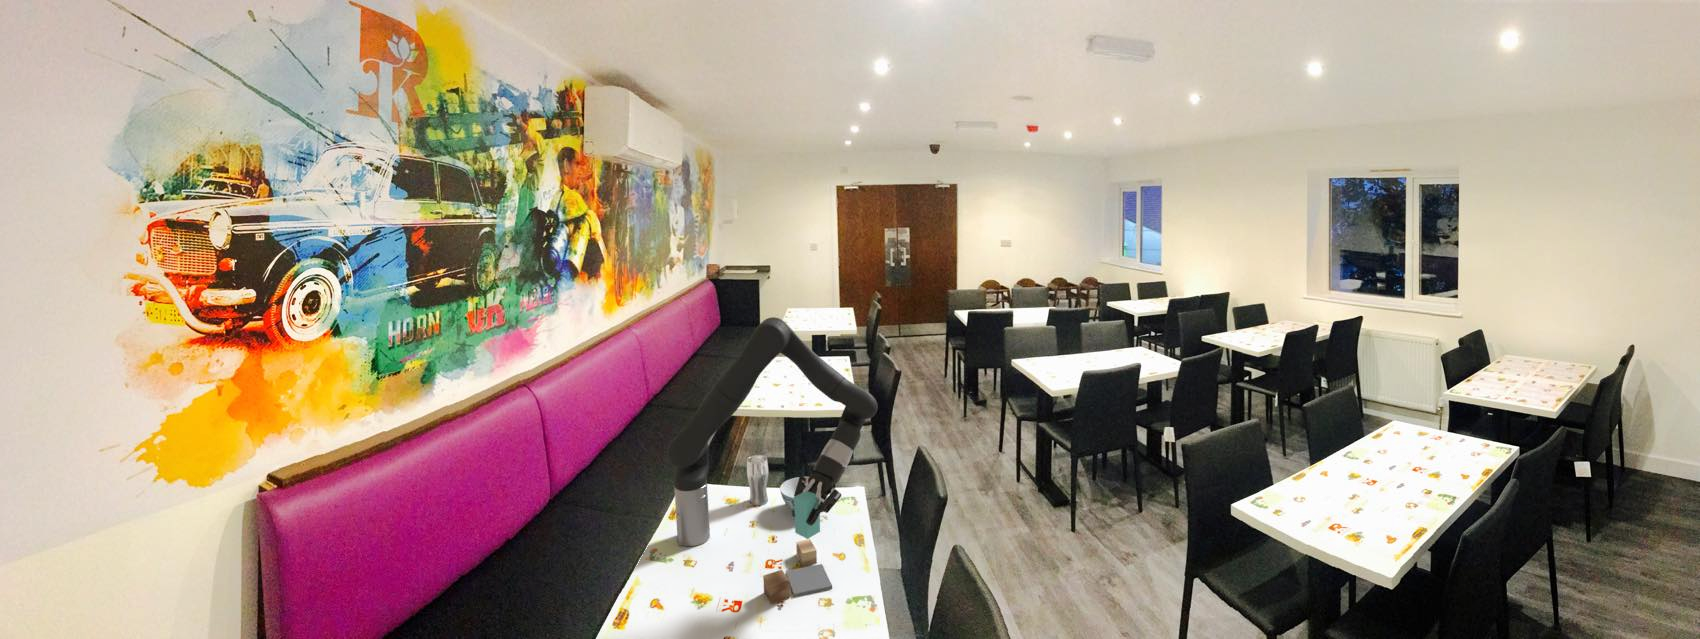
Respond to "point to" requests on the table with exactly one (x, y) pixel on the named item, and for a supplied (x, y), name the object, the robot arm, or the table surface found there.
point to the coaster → (808, 580)
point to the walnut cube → (776, 586)
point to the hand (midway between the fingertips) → (801, 520)
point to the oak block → (806, 552)
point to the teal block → (805, 514)
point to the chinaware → (789, 491)
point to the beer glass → (757, 479)
